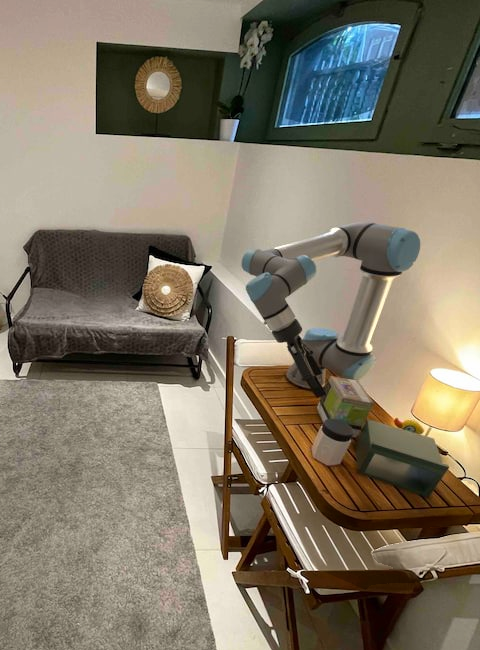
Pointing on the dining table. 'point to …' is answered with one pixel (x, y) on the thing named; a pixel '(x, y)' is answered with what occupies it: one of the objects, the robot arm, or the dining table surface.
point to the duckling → (409, 426)
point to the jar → (332, 442)
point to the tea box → (345, 403)
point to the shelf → (396, 467)
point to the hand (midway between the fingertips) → (319, 384)
